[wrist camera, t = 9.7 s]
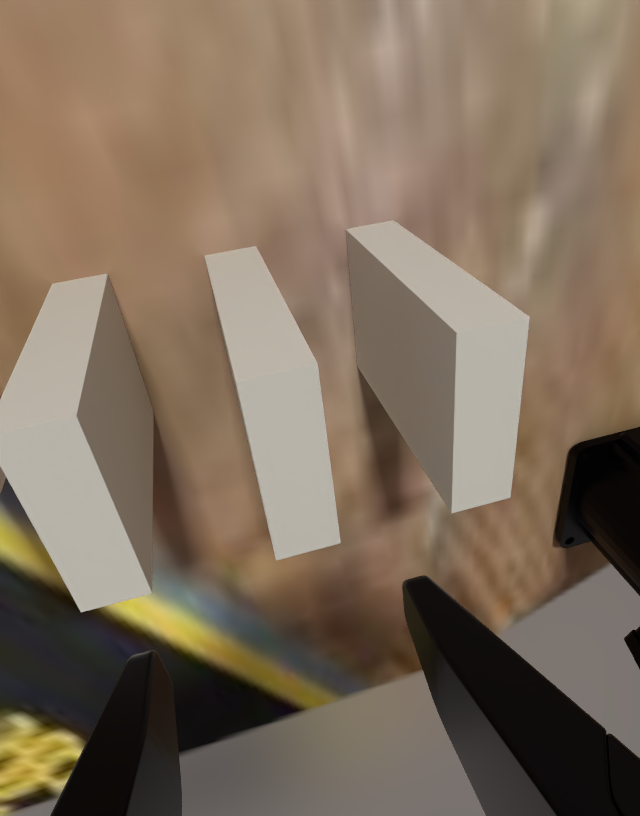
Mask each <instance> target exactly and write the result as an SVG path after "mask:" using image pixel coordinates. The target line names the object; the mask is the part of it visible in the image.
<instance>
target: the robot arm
mask: <svg viewBox="0 0 640 816" xmlns="http://www.w3.org/2000/svg"><path fill="white" fill-rule="evenodd" d="M556 540H557V542H558V543H559V544H560V545H561V546H562V547H563V548H569V547H572V546H576V545H579V544H583V543H586V542H590V541H591V542H592V543H593V544H594V545H595V546H596V547H597V548H598V549H599V551H600V552H601V553H602V554H603V555H604V556H605V557H606V558H607V560H608V561H609V562H610V563H611V564H612V565H613V566H614V567H615V569H616V570H617V571H618V572H619V573H620V574H621V575H622V576H623V578H624V579H625V580H626V581H627V582H628V583H629V584H630V585H631V586H632V588H633V589H634V590H635V591H636V592H637V593H638V594H639V596H640V427H638V428H634V429H630V430H626V431H622V432H618V433H615V434H611V435H607V436H603V437H599V438H595V439H591V440H587V441H583V442H581V443H579V444H577V445H576V446H575V447H574V448H573V449H572V452H571V456H570V462H569V468H568V473H567V479H566V485H565V490H564V496H563V502H562V507H561V513H560V519H559V524H558V530H557V536H556ZM402 589H403V602H404V613H405V618H406V622H407V625H408V628H409V631H410V634H411V637H412V640H413V642H414V645H415V648H416V651H417V654H418V657H419V660H420V663H421V666H422V669H423V671H424V674H425V677H426V680H427V683H428V686H429V689H430V692H431V695H432V698H433V700H434V703H435V705H436V708H437V711H438V714H439V716H440V718H441V720H442V722H443V725H444V727H445V730H446V732H447V734H448V736H449V738H450V740H451V742H452V744H453V746H454V749H455V751H456V753H457V755H458V757H459V759H460V761H461V763H462V765H463V768H464V770H465V772H466V774H467V776H468V778H469V780H470V782H471V785H472V787H473V789H474V791H475V793H476V795H477V797H478V799H479V801H480V804H481V806H482V808H483V810H484V812H485V814H486V816H640V758H639V757H637V756H636V755H635V754H634V753H633V752H632V751H630V750H629V749H628V748H627V747H626V746H625V745H623V744H622V743H621V742H620V741H619V740H618V739H617V738H615V737H614V736H613V735H612V734H607V735H606V730H605V728H603V727H602V726H601V725H600V724H599V723H598V722H596V721H595V720H594V719H593V718H592V717H591V716H589V715H588V714H587V713H586V712H585V711H584V710H582V709H581V708H580V707H579V706H578V705H577V704H576V703H574V702H573V701H572V700H571V699H570V698H569V697H567V696H566V695H565V694H564V693H563V692H562V691H560V690H559V689H558V688H557V687H556V686H555V685H553V684H552V683H551V682H550V681H549V680H547V679H546V678H545V677H544V676H543V675H542V674H541V673H539V672H538V671H537V670H536V669H535V668H533V667H532V666H531V665H530V664H529V663H528V662H527V661H525V660H524V659H523V658H522V657H521V656H520V655H518V654H517V653H516V652H515V651H514V650H512V649H511V648H510V647H509V646H508V645H507V644H506V643H504V642H503V641H502V640H501V639H500V638H499V637H498V636H496V635H495V634H494V633H493V632H492V631H491V630H489V629H488V628H487V627H486V626H485V625H484V624H482V623H481V622H480V621H479V620H478V619H477V618H475V617H474V616H473V615H472V614H471V613H470V612H468V611H467V610H466V609H465V608H464V607H463V606H461V605H460V604H459V603H458V602H457V601H456V600H454V599H453V598H452V597H451V596H450V595H449V594H447V593H446V592H445V591H444V590H443V589H442V588H440V587H439V586H438V585H437V584H436V583H435V582H433V581H432V580H431V579H430V578H429V577H427V576H419V577H415V578H411V579H408V580H405V581H404V582H403V585H402ZM624 640H625V642H626V644H627V646H628V648H629V649H630V651H631V653H632V655H633V657H634V659H635V661H636V663H637V665H638V667H639V669H640V627H639V628H638V629H637V630H632V631H631V632H630V633H629V634H628V635H627V636H626V637H625V638H624ZM181 791H182V790H181V776H180V765H179V752H178V740H177V729H176V717H175V706H174V694H173V687H172V682H171V679H170V677H169V675H168V673H167V671H166V668H165V666H164V664H163V662H162V660H161V658H160V656H159V654H158V653H157V652H156V651H154V650H151V651H147V652H143V653H140V654H136V655H133V656H131V657H130V658H129V659H128V660H127V662H126V664H125V666H124V668H123V670H122V672H121V674H120V676H119V678H118V680H117V682H116V684H115V686H114V688H113V690H112V692H111V694H110V696H109V698H108V700H107V702H106V704H105V706H104V708H103V710H102V712H101V714H100V717H99V719H98V721H97V723H96V725H95V727H94V729H93V731H92V733H91V735H90V737H89V739H88V741H87V743H86V745H85V747H84V749H83V751H82V753H81V755H80V757H79V759H78V761H77V763H76V765H75V767H74V769H73V771H72V773H71V775H70V777H69V779H68V781H67V783H66V785H65V787H64V789H63V791H62V793H61V795H60V797H59V799H58V801H57V804H56V805H55V807H54V809H53V812H52V814H51V816H182V792H181Z"/></svg>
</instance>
